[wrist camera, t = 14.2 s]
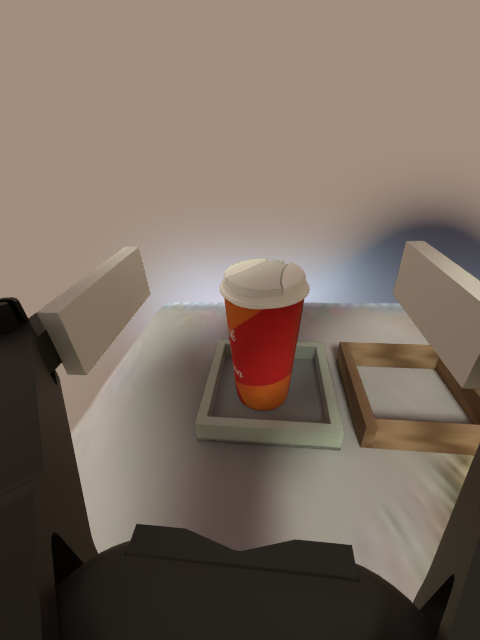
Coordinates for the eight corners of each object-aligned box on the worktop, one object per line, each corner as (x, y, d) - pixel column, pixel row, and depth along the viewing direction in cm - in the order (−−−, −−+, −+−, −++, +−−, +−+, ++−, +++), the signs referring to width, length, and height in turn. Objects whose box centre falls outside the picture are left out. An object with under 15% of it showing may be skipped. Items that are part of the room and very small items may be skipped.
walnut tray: (439, 364, 37) (447, 345, 36) (507, 457, 26) (523, 436, 25) (336, 360, 39) (339, 342, 37) (360, 447, 28) (366, 426, 26)
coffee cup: (247, 360, 39) (245, 252, 31) (307, 380, 35) (322, 263, 27) (213, 403, 33) (199, 282, 25) (281, 432, 29) (290, 302, 21)
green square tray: (320, 357, 39) (323, 342, 38) (340, 450, 28) (344, 433, 26) (220, 353, 41) (218, 339, 40) (197, 440, 29) (194, 423, 28)
